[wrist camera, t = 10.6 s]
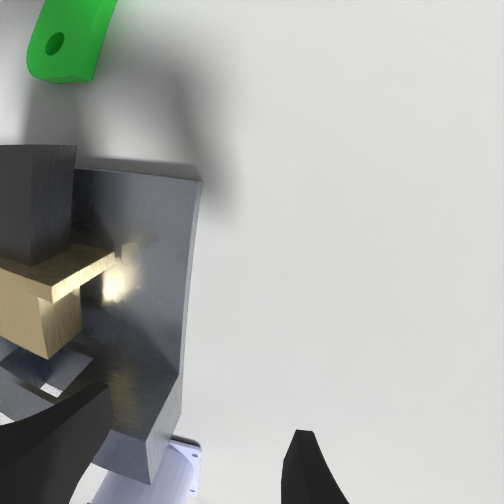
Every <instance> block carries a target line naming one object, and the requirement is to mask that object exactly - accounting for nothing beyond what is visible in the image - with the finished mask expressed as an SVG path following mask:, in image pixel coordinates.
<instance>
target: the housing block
mask: <svg viewBox="0 0 504 504" xmlns="http://www.w3.org/2000/svg"><path fill="white" fill-rule="evenodd" d="M201 188H202V181H195V180H188V179H180V178H173V177H165V176H157V175H148V174H140V173H131V172H121V171H111V170H101V169H90V168H78V167H74V176H73V189H72V205H71V242H73V243H77V244H81V245H86V246H90V247H95V248H99V249H104V250H108V251H113V252H114V265H113V266H111V267H109V268H108V269H106V270H104V271H103V272H101V273H100V274H98V275H96V276H95V277H93V278H92V279H90V280H88V281H87V282H85V283H84V284H82V285H80V303H81V317H82V328H83V329H82V330H81V331H80V332H79V333H78V334H77V335H75V336H74V337H73V338H72V339H71V340H70V341H69V342H67V343H66V344H65V345H64V346H63V347H62V348H61V349H60V350H58V351H57V352H56V353H55V354H54V355H53V356H52V357H51V358H49V359H45V358H43V357H41V356H39V355H37V354H35V353H33V352H31V351H29V350H27V349H25V348H23V347H21V346H19V345H17V344H15V343H13V342H11V341H10V340H8V339H6V338H4V337H2V336H0V412H1V413H3V414H4V415H6V416H7V417H9V418H10V419H12V420H13V421H15V422H16V421H19V420H22V419H24V418H27V417H30V416H32V415H35V414H37V413H39V412H41V411H43V410H45V409H47V408H49V407H51V406H53V405H55V404H57V403H59V402H61V401H62V400H64V399H66V398H68V397H70V396H71V395H73V394H75V393H76V392H78V391H80V390H82V389H83V388H85V387H87V386H88V385H90V384H92V383H94V382H95V381H99V382H101V383H104V384H107V385H110V392H111V399H112V406H113V412H114V418H115V420H114V423H113V425H112V427H111V429H110V431H109V434H108V436H107V438H106V440H105V441H104V443H103V444H102V446H101V448H100V449H99V451H98V452H97V454H96V455H95V457H94V458H93V460H92V461H91V463H93V464H95V465H98V466H100V467H102V468H105V469H107V470H109V471H112V472H114V473H117V474H120V475H122V476H125V477H128V478H130V479H133V480H136V481H139V482H142V483H145V484H148V485H151V484H152V482H153V479H154V477H155V474H156V472H157V470H158V467H159V465H160V463H161V460H162V458H163V455H164V453H165V451H166V448H167V446H168V443H169V441H170V439H171V436H172V434H173V432H174V429H175V427H176V424H177V422H178V420H179V417H180V415H181V400H182V380H183V364H184V349H185V335H186V322H187V311H188V300H189V289H190V279H191V269H192V260H193V251H194V242H195V234H196V226H197V218H198V210H199V203H200V195H201ZM45 383H47V384H49V385H51V386H53V387H55V388H57V389H59V390H62V391H63V392H62V393H61V394H60V395H59V397H58V398H56V397H54V396H52V395H50V394H48V393H46V392H44V391H43V390H41V389H40V388H41V387H42V386H43V385H44V384H45Z"/></svg>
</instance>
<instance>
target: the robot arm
mask: <svg viewBox="0 0 504 504" xmlns="http://www.w3.org/2000/svg"><path fill="white" fill-rule="evenodd" d="M114 420H115V418H114V412H113V406H112V399H111V392H110V385H107V384H104V383H101V382H99V381H95V382H94V383H92V384H90V385H88V386H87V387H85V388H83V389H82V390H80V391H78V392H76V393H75V394H73V395H71V396H70V397H68V398H66V399H64V400H62V401H61V402H59V403H57V404H55V405H53V406H51V407H49V408H47V409H45V410H43V411H41V412H39V413H37V414H35V415H32V416H30V417H27V418H24V419H22V420H19V421H16V422H12V423H9V424H5V425H1V426H0V504H69V502H70V499H71V497H72V495H73V493H74V491H75V488H76V486H77V484H78V482H79V480H80V479H81V477H82V475H83V474H84V472H85V471H86V469H87V468H88V466H89V464H90V463H91V461H92V460H93V458H94V457H95V455H96V454H97V452H98V451H99V449H100V448H101V446H102V444H103V443H104V441H105V440H106V438H107V436H108V434H109V431H110V429H111V427H112V425H113V423H114ZM201 453H202V450H201V448H199V447H197V446H193V445H189V444H186V443H182V442H178V441H174V440H171V439H170V441H169V443H168V446H167V448H166V451H165V453H164V455H163V458H162V460H161V463H160V465H159V467H158V470H157V472H156V474H155V477H154V479H153V482H152V484H151V485H148V484H145V483H142V482H139V481H136V480H133V479H130V478H128V477H125V476H122V475H120V474H117V473H114V472H112V471H108V473H107V475H106V477H105V478H104V480H103V482H102V484H101V486H100V488H99V489H98V491H97V493H96V495H95V497H94V499H93V500H92V502H91V503H89V502H88V503H87V504H185V503H186V500H187V496H191V497H196V496H197V494H198V483H199V473H200V463H201ZM281 504H349V502H348V501H347V499H346V498H345V496H344V495H343V493H342V492H341V490H340V488H339V487H338V485H337V483H336V481H335V479H334V478H333V476H332V474H331V472H330V470H329V468H328V466H327V464H326V462H325V459H324V457H323V455H322V452H321V450H320V448H319V445H318V443H317V440H316V437H315V434H314V433H313V431H305V430H296V431H295V434H294V436H293V439H292V441H291V444H290V446H289V449H288V451H287V453H286V456H285V458H284V461H283V470H282V479H281Z"/></svg>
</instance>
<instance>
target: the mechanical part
mask: <svg viewBox="0 0 504 504" xmlns="http://www.w3.org/2000/svg"><path fill="white" fill-rule="evenodd" d="M116 3H117V0H46V1H45V3H44V6H43V8H42V11H41V13H40V16H39V18H38V21H37V23H36V26H35V29H34V31H33V34H32V37H31V40H30V43H29V46H28V50H27V67H28V70H29V72H30V73H31V74H32V75H33V76H34V77H36V78H39V79H42V80H46V81H50V82H53V83H69V82H87V81H92V78H93V74H94V70H95V66H96V63H97V59H98V56H99V52H100V49H101V46H102V43H103V39H104V36H105V33H106V30H107V27H108V24H109V22H110V19H111V16H112V13H113V11H114V8H115V5H116Z"/></svg>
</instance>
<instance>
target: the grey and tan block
mask: <svg viewBox="0 0 504 504" xmlns="http://www.w3.org/2000/svg"><path fill="white" fill-rule="evenodd" d="M76 148H77V146H66V145H0V336H2V337H4V338H6V339H8V340H10V341H11V342H13V343H15V344H17V345H19V346H21V347H23V348H25V349H27V350H29V351H31V352H33V353H35V354H37V355H39V356H41V357H43V358H45V359H49V358H51V357H52V356H53V355H54V354H55V353H56V352H57V351H58V350H60V349H61V348H62V347H63V346H64V345H65V344H66V343H67V342H69V341H70V340H71V339H72V338H73V337H74V336H75V335H77V334H78V333H79V332H80V331H81V330H82V329H83V328H82V317H81V303H80V285H82V284H84V283H85V282H87V281H88V280H90V279H92V278H93V277H95V276H96V275H98V274H100V273H101V272H103V271H104V270H106V269H108V268H109V267H111V266H113V265H114V252H113V251H108V250H104V249H99V248H95V247H90V246H86V245H81V244H77V243H73V242H71V205H72V189H73V176H74V165H75V156H76Z"/></svg>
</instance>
